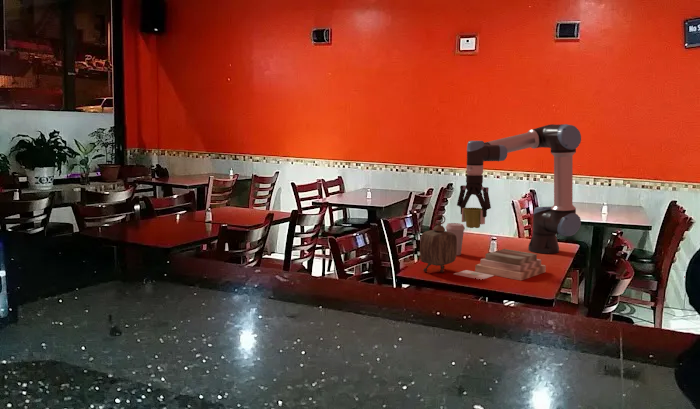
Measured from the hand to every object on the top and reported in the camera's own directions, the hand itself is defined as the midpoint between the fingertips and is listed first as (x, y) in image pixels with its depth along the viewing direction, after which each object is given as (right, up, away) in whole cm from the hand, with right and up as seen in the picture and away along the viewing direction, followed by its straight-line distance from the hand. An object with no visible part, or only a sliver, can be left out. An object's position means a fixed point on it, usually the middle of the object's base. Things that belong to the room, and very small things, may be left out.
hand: (473, 222), depth 289 cm
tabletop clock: (-18, -21, -16) cm, 32 cm away
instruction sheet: (-4, -22, -22) cm, 31 cm away
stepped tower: (+13, -21, -15) cm, 29 cm away
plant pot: (0, -2, 0) cm, 2 cm away
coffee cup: (-5, -16, +22) cm, 28 cm away
